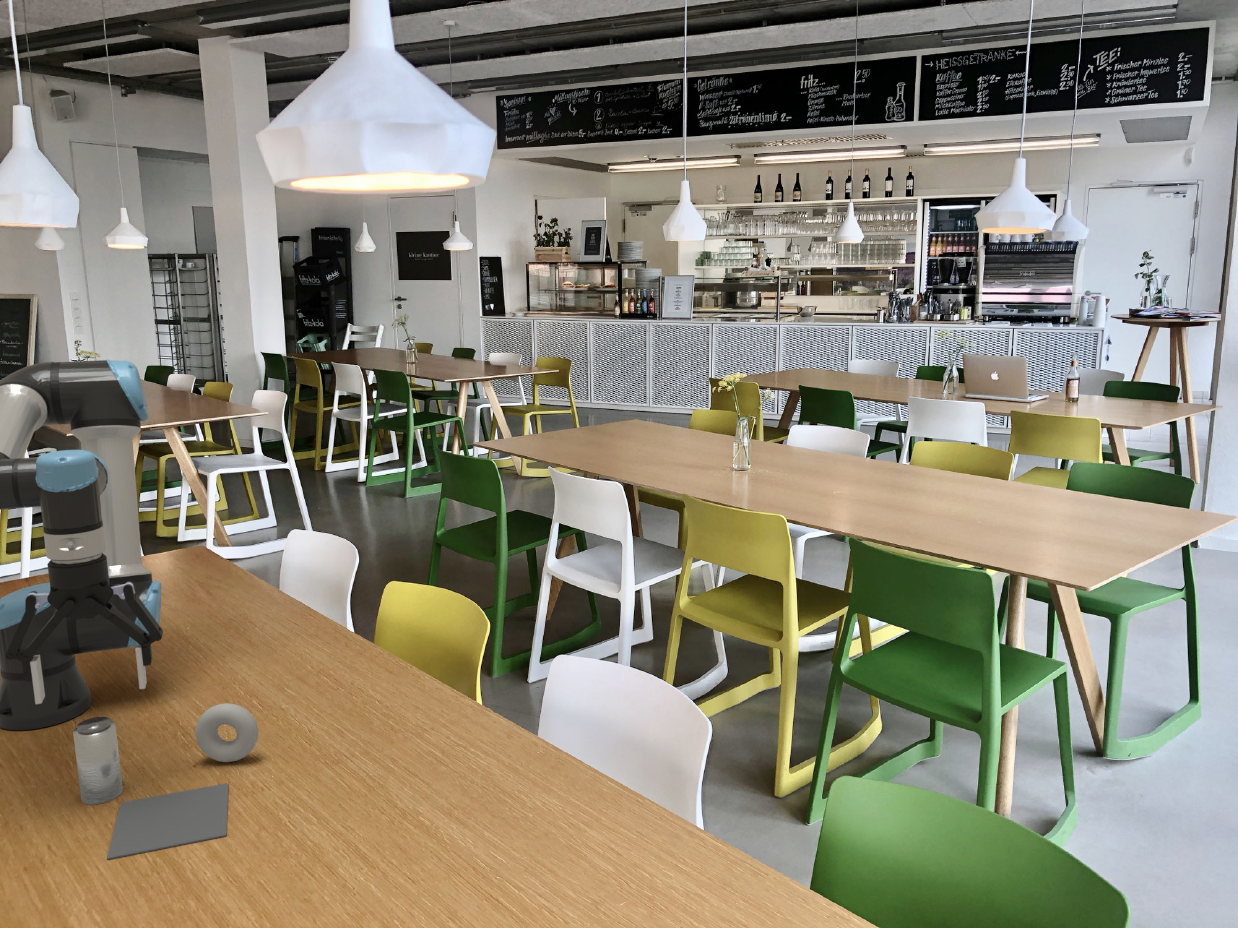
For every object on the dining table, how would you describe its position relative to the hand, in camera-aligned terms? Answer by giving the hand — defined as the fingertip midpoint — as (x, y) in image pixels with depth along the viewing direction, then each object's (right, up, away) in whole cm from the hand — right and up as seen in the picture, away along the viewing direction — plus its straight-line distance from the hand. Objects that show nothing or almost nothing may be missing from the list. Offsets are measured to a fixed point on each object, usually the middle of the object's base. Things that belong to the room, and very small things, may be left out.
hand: (92, 692), depth 139 cm
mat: (+14, -18, -4) cm, 23 cm away
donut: (+15, -15, +13) cm, 25 cm away
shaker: (0, -16, +3) cm, 17 cm away
